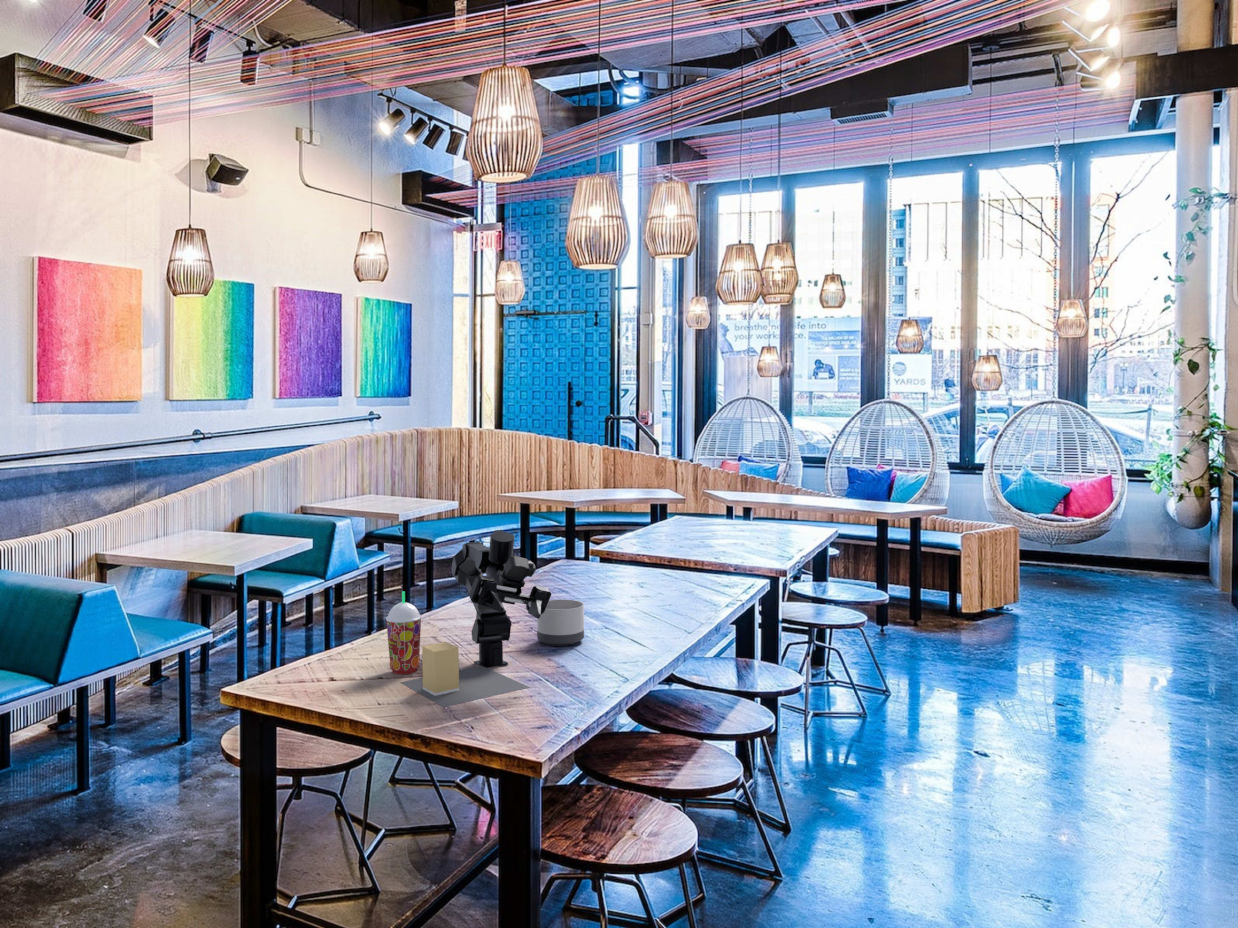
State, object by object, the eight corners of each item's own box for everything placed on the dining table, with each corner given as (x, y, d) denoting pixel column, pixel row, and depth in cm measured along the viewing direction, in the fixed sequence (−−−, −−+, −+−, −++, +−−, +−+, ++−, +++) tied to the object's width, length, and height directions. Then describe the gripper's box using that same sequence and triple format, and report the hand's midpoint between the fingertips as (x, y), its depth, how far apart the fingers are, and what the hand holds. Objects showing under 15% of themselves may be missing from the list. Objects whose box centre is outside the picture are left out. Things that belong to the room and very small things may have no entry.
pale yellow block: (422, 688, 212) (422, 645, 211) (446, 683, 216) (446, 641, 215) (434, 695, 207) (434, 651, 207) (459, 690, 211) (458, 647, 210)
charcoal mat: (399, 684, 217) (399, 682, 217) (482, 667, 231) (482, 665, 231) (443, 709, 200) (443, 706, 200) (530, 689, 213) (530, 687, 213)
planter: (556, 651, 246) (556, 612, 245) (527, 641, 255) (527, 603, 254) (593, 642, 254) (593, 604, 253) (564, 633, 264) (564, 597, 263)
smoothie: (384, 669, 229) (383, 589, 227) (418, 665, 232) (417, 586, 230) (390, 679, 221) (388, 596, 219) (425, 675, 224) (424, 593, 223)
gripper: (478, 542, 215) (495, 575, 202) (549, 557, 224) (570, 589, 211) (461, 584, 217) (478, 618, 204) (532, 597, 226) (552, 631, 213)
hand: (521, 613), depth 208 cm, fingers open, 9 cm apart
